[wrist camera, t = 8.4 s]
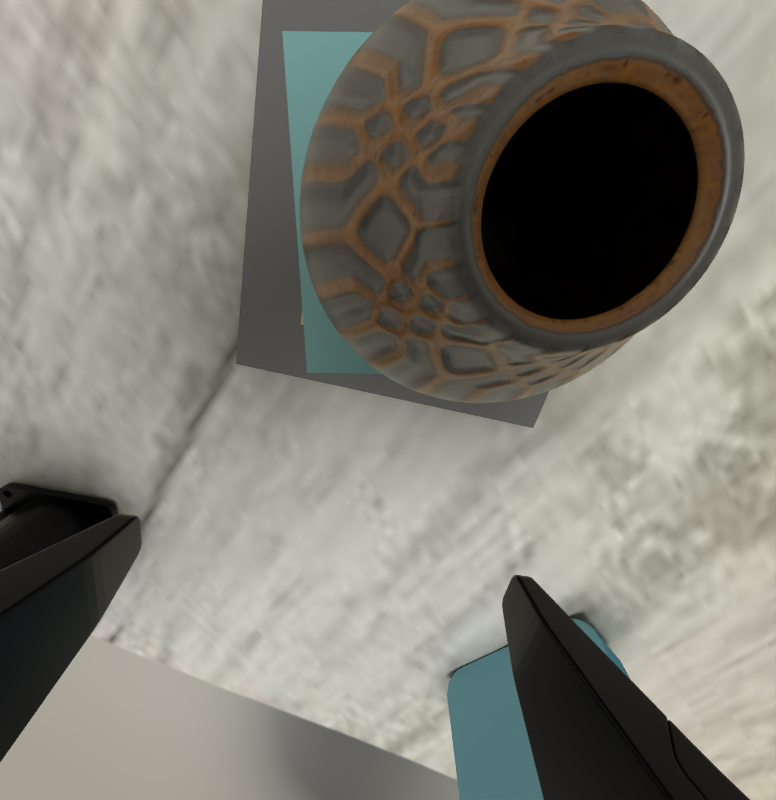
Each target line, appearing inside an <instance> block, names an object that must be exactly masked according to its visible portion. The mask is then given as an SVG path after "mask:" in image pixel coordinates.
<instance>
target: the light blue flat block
mask: <svg viewBox="0 0 776 800" xmlns="http://www.w3.org/2000/svg"><path fill="white" fill-rule="evenodd" d="M572 620H573V621H574V622H575V623H576V624H577V625H578V626H579V627H580V628H581V629H582V630H583V631H584V632H585V633H586V634H587V635H588V636H589V637H590V638H591V639H592V640H593V641H594V642H595V643H596V645H597V646H598V647H599V648H600V649H601V650H602V651H603V652H604V653H605V654H606V655H607V656H608V657H609V658H610V659H611V660H612V661H613V662H614V663H615V664H616V665H617V666H618V667H619V668H620V669H621V670H622V671H623V672H624V673H625V674H626V675H627V677H628V678H629V676H628V674H627V672H626V670H625V668H624V667H623V665H622V663H621V662H620V660H619V659H618V658H617V657H616V655H615V654H614V653H613V652H612V651H611V649H610V648H609V647H608V646H607V645H606V643H605V642H604V641H603V640H602V639H601V637H600V636H599V635H598V634H597V633H596V632H595V630H594V629H593V628H592V627H591V626H590V625H589V624H587V623H586V622H584V621H582V620H579V619H572ZM629 679H630V678H629ZM447 696H448V706H449V714H450V722H451V730H452V739H453V747H454V755H455V764H456V772H457V780H458V789H459V796H460V800H544V799H543V795H542V791H541V787H540V783H539V779H538V775H537V771H536V767H535V763H534V759H533V755H532V751H531V746H530V742H529V738H528V734H527V730H526V726H525V722H524V718H523V714H522V710H521V706H520V702H519V698H518V694H517V690H516V686H515V682H514V677H513V673H512V667H511V661H510V654H509V648H508V646H507V647H505V648H503V649H500V650H498V651H496V652H494V653H492V654H490V655H487V656H485V657H483V658H481V659H479V660H477V661H474V662H472V663H470V664H468V665H466V666H464V667H462V668H460V669H459V670H457V671H456V672H455V674H454V675H453V676H452V678H451V680H450V683H449V686H448V695H447Z"/></svg>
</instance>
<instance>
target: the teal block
mask: <svg viewBox="0 0 776 800" xmlns="http://www.w3.org/2000/svg"><path fill="white" fill-rule="evenodd" d="M372 33H373V32H318V31H282V34H283V48H284V62H285V75H286V89H287V103H288V117H289V131H290V144H291V158H292V172H293V186H294V199H295V213H296V227H297V241H298V255H299V268H300V282H301V296H302V310H303V324H304V337H305V351H306V365H307V373H353V374H382V373H380V372H379V371H377V370H376V369H375V368H373V367H372V366H371V365H369V364H368V363H367V362H366V361H365V360H363V359H362V358H361V357H360V356H359V355H358V354H357V353H356V352H355V351H354V350H353V349H352V348H351V347H350V346H349V345H348V344H347V342H346V341H345V340H344V339H343V338H342V336H341V335H340V334H339V332H338V331H337V330H336V329H335V327H334V325H333V324H332V322H331V321H330V319H329V318H328V316H327V314H326V312H325V311H324V309H323V307H322V305H321V303H320V301H319V299H318V296H317V294H316V292H315V289H314V287H313V284H312V281H311V279H310V275H309V272H308V268H307V265H306V261H305V256H304V251H303V245H302V238H301V228H300V191H301V180H302V173H303V167H304V162H305V157H306V153H307V149H308V145H309V142H310V138H311V135H312V132H313V129H314V127H315V124H316V121H317V118H318V116H319V114H320V111H321V109H322V107H323V105H324V103H325V100H326V98H327V97H328V95H329V93H330V91H331V89H332V87H333V86H334V84H335V82H336V80H337V78H338V77H339V75H340V74H341V72H342V71H343V69H344V68H345V66H346V65H347V63H348V62H349V60H350V59H351V58H352V57H353V55H354V54H355V53H356V51H357V50H358V49H359V47H360V46H361V45H362V44H363V43H364V42H365V41H366V40H367V39H368V37H369V36H370V35H371V34H372Z"/></svg>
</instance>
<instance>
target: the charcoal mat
mask: <svg viewBox="0 0 776 800" xmlns="http://www.w3.org/2000/svg"><path fill="white" fill-rule="evenodd" d="M409 1H411V0H263V5H262V19H261V32H260V46H259V60H258V73H257V87H256V101H255V115H254V128H253V142H252V156H251V169H250V183H249V197H248V211H247V224H246V238H245V252H244V265H243V279H242V293H241V307H240V320H239V334H238V348H237V361H236V364H240V365H245V366H249V367H254V368H258V369H263V370H268V371H272V372H277V373H282V374H286V375H291V376H296V377H300V378H305V379H309V380H314V381H319V382H323V383H328V384H333V385H337V386H342V387H346V388H351V389H356V390H360V391H365V392H370V393H374V394H379V395H383V396H388V397H393V398H397V399H402V400H407V401H411V402H416V403H421V404H425V405H430V406H434V407H439V408H444V409H448V410H453V411H458V412H462V413H467V414H471V415H476V416H481V417H485V418H490V419H495V420H499V421H504V422H508V423H513V424H518V425H522V426H527V427H532V428H533V427H534V425H535V422H536V420H537V418H538V415H539V413H540V411H541V408H542V406H543V404H544V401H545V399H546V397H547V394H548V392H549V391H547V392H544V393H541V394H538V395H534V396H531V397H527V398H523V399H517V400H512V401H505V402H494V403H465V402H455V401H449V400H444V399H440V398H436V397H432V396H429V395H426V394H422V393H419V392H416V391H414V390H412V389H409V388H407V387H405V386H403V385H401V384H399V383H397V382H395V381H393V380H391V379H390V378H388V377H386V376H385V375H383V374H353V373H307V365H306V351H305V337H304V325H301V324H300V323H301V316H302V296H301V282H300V268H299V255H298V241H297V227H296V213H295V199H294V186H293V172H292V158H291V144H290V131H289V117H288V103H287V89H286V75H285V62H284V48H283V34H282V31H318V32H374V31H375V30H376V29H377V28H378V27H379V26H380V25H381V24H382V23H384V22H385V21H386V20H387V19H388V18H389V17H390V16H391V15H392V14H394V13H395V12H396V11H397V10H399V9H400V8H401V7H402V6H404V5H405V4H406V3H408V2H409Z"/></svg>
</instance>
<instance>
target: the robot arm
mask: <svg viewBox="0 0 776 800" xmlns="http://www.w3.org/2000/svg"><path fill="white" fill-rule="evenodd" d="M0 501H1V505H2V510H3V511H1V512H0V762H1V761H2V759H3V758H4V756H5V755H6V753H7V752H8V750H9V749H10V748H11V746H12V745H13V744H14V742H15V741H16V739H17V738H18V736H19V735H20V734H21V732H22V731H23V729H24V728H25V727H26V725H27V724H28V722H29V721H30V719H31V718H32V717H33V715H34V714H35V712H36V711H37V710H38V708H39V707H40V705H41V704H42V702H43V701H44V700H45V698H46V697H47V695H48V694H49V693H50V691H51V690H52V688H53V687H54V685H55V684H56V683H57V681H58V680H59V678H60V677H61V676H62V674H63V673H64V671H65V670H66V668H67V667H68V666H69V664H70V663H71V661H72V660H73V659H74V657H75V656H76V654H77V653H78V651H79V650H80V649H81V647H82V646H83V644H84V643H85V642H86V640H87V639H88V637H89V636H90V635H91V633H92V632H93V630H94V629H95V627H96V626H97V624H98V623H99V621H100V620H101V618H102V616H103V615H104V613H105V611H106V610H107V608H108V606H109V605H110V603H111V601H112V599H113V598H114V596H115V594H116V592H117V591H118V589H119V587H120V585H121V584H122V582H123V580H124V578H125V577H126V575H127V573H128V571H129V570H130V568H131V566H132V564H133V563H134V561H135V559H136V558H137V556H138V554H139V552H140V549H141V543H142V542H141V523H140V519H139V517H137V516H133V515H127V514H118V515H116V507H115V505H114V504H113V503H112V502H110V501H107V500H101V499H96V498H90V497H85V496H79V495H74V494H68V493H63V492H57V491H52V490H47V489H41V488H36V487H30V486H25V485H19V484H14V483H8V484H6V485H4V486H3V487H1V488H0ZM502 608H503V615H504V621H505V628H506V634H507V641H508V648H509V654H510V661H511V667H512V673H513V677H514V682H515V686H516V690H517V694H518V698H519V702H520V706H521V710H522V714H523V718H524V722H525V726H526V730H527V734H528V738H529V742H530V746H531V751H532V755H533V759H534V763H535V767H536V771H537V775H538V779H539V783H540V787H541V791H542V795H543V799H544V800H750V799H749V798H748V797H747V796H746V795H745V794H744V793H742V792H741V791H740V790H739V789H738V788H737V787H736V786H735V785H734V784H733V783H732V782H731V781H730V780H729V779H728V778H727V777H726V776H725V775H724V774H723V773H722V772H721V771H720V770H719V769H718V768H717V767H716V766H715V765H714V764H713V763H712V762H711V761H710V760H709V759H708V758H707V757H706V756H705V755H704V754H703V753H702V752H701V751H700V750H699V749H698V748H697V747H696V746H695V745H694V744H693V743H692V742H691V741H690V740H689V739H688V738H687V737H686V736H685V735H684V734H683V733H682V732H681V731H680V730H679V729H678V728H677V727H676V726H675V725H674V724H673V723H672V722H671V721H670V720H668V721H667V717H666V716H665V715H664V714H663V713H662V712H661V711H660V710H659V709H658V707H657V706H656V705H655V704H654V703H653V702H652V701H651V700H650V699H649V698H648V697H647V696H646V695H645V694H644V693H643V692H642V691H641V690H640V689H639V688H638V687H637V686H636V685H635V684H634V683H633V682H632V681H631V680H630V679H629V678H628V677H627V675H626V674H625V673H624V672H623V671H622V670H621V669H620V668H619V667H618V666H617V665H616V664H615V663H614V662H613V661H612V660H611V659H610V658H609V657H608V656H607V655H606V654H605V653H604V652H603V651H602V650H601V649H600V648H599V647H598V646H597V645H596V643H595V642H594V641H593V640H592V639H591V638H590V637H589V636H588V635H587V634H586V633H585V632H584V631H583V630H582V629H581V628H580V627H579V626H578V625H577V624H576V623H575V622H574V621H573V620H572V619H571V618H570V617H569V616H568V615H567V614H566V613H565V612H564V610H563V609H562V608H561V607H560V606H559V605H558V604H557V603H556V602H555V601H554V600H553V599H552V598H551V597H550V596H549V595H548V594H547V593H546V592H545V591H544V590H543V589H542V588H541V587H540V586H539V585H538V584H537V583H536V582H535V581H534V580H533V579H532V578H531V577H528V576H521V575H515V576H513V577H512V579H511V581H510V583H509V586H508V588H507V590H506V592H505V595H504V597H503V602H502Z"/></svg>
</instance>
